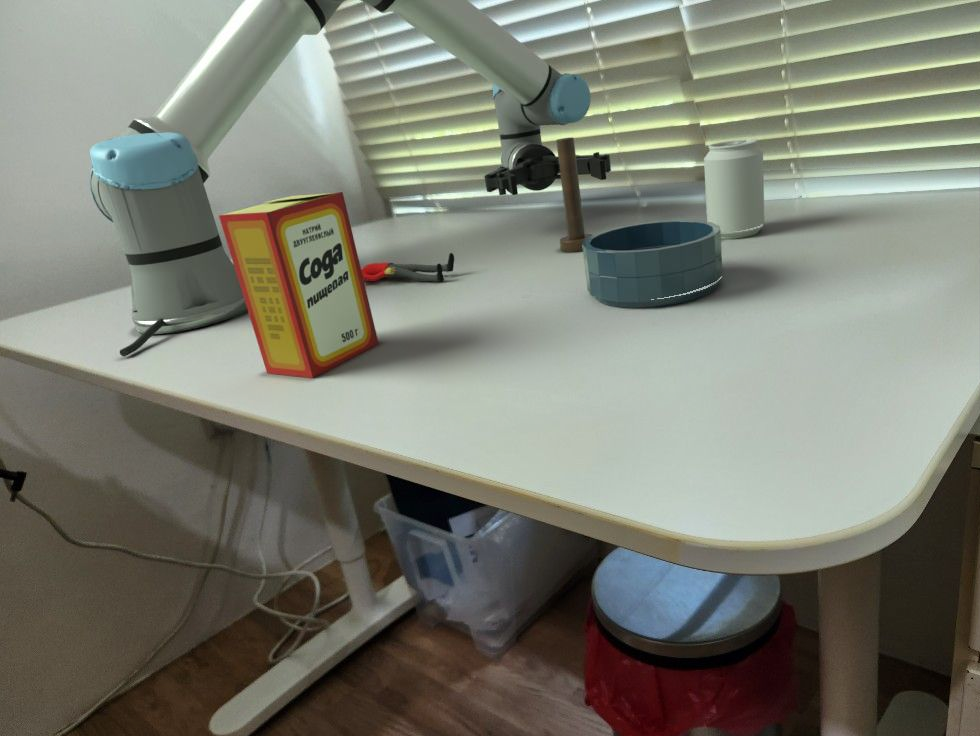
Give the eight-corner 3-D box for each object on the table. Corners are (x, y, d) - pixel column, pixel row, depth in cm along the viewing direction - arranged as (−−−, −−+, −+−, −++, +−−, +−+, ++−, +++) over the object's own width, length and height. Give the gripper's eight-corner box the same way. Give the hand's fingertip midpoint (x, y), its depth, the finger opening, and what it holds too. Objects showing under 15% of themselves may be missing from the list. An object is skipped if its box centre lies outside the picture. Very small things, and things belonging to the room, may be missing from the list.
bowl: (725, 303, 75) (722, 243, 72) (581, 314, 78) (574, 258, 75) (720, 266, 88) (717, 214, 85) (596, 277, 91) (591, 228, 88)
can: (700, 233, 105) (695, 144, 100) (752, 224, 105) (750, 135, 101) (718, 243, 98) (713, 147, 94) (773, 234, 99) (772, 138, 94)
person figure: (434, 250, 98) (329, 254, 106) (434, 281, 98) (330, 282, 106) (455, 253, 102) (353, 256, 110) (456, 282, 103) (354, 283, 111)
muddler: (593, 250, 105) (580, 138, 99) (558, 253, 106) (543, 143, 100) (597, 242, 109) (585, 134, 103) (563, 245, 110) (550, 139, 104)
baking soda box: (312, 378, 71) (265, 208, 65) (267, 373, 75) (217, 211, 68) (378, 343, 79) (341, 187, 72) (334, 340, 82) (295, 191, 76)
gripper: (604, 176, 133) (641, 189, 114) (466, 200, 130) (480, 217, 111) (599, 132, 130) (637, 137, 111) (458, 155, 127) (471, 165, 108)
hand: (558, 177), depth 111 cm, fingers open, 13 cm apart
